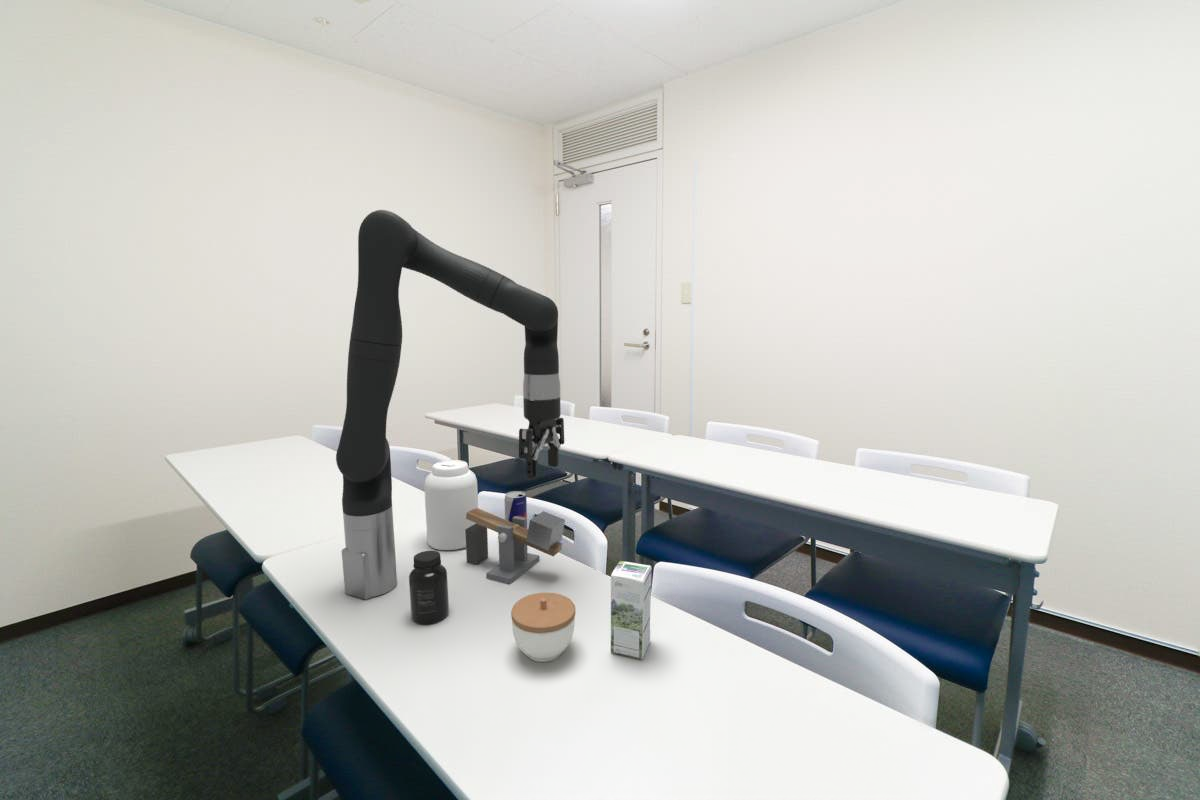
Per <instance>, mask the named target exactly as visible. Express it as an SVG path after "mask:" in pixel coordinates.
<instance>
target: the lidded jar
mask: <svg viewBox="0 0 1200 800" xmlns="http://www.w3.org/2000/svg"><path fill="white" fill-rule="evenodd" d="M510 613H511V614H510V615H511V616H510V617H511V624H512V625H511V626H512V632H513V636H514V640H515V643H516V645H517V647H518V649H520V651H521V652H522V653H524V655H526V656H527V657H528V658H529V659H530V660H531V661H534V662H538V663H545V662H546V663H547V662H551V661H554V660H556V659H557V658H559V657H560V655H562V653H563V652H564V651H565V650H566V649H567V648H568V646H569V645H570V643H571V641H572V639H573V636H574V630H575V626H576V625H575V624H576V623H575V621H576V619H575V618H576V605H575V603H574V602H573V600H572V599H570V598H569V597H568V596H565V595H562V594H561V593H555V592H537V593H533V594H529V595H526V596H524V597H522V598H520V599H519V600H517V601H516V602H515V603H514V604H513V606H512V608H511V611H510Z"/></svg>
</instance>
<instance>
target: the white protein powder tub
mask: <svg viewBox="0 0 1200 800" xmlns="http://www.w3.org/2000/svg"><path fill="white" fill-rule="evenodd" d="M423 486H424V487H423V488H424V500H425V502H424V503H425V505H424V506H425V523H426V540H427V543H428V546H430V547H431V548H432V549H435V550H437V551H438V550H439V551H455V550H461V549H464V548H465V549H466V533H465V529H467V528H469V527H470V526H472V525H474V524H476V523H475V522H472V521H470V520H468V519H466V514H467V512H469V511H471V510H473V509H475V508H479V495H478V494H479V493H478V491H479V490H478V479H477V476H476V474H475V472H473V471H472V470H471V469H470V468H469V464H468V463H467V461H465V460H460V459H448V460H447V459H445V460H441V461H438V462H436V463H434V464H433V465H432V467H431V472H430V473H429V474H428V475H427V476H426V478H425V481H424V484H423Z"/></svg>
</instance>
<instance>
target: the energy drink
mask: <svg viewBox="0 0 1200 800" xmlns="http://www.w3.org/2000/svg"><path fill="white" fill-rule="evenodd" d="M527 503H528V502H527V495H526V492H524V491H521V490H514V491H513V490H512V491H508V492H506V493H505V495H504V519H505V520H507V521H510V522H512V523H513V520H512V518H513V517H515V516H518V517H523V518H527V519H528V512H527V511H528V510H527V509H528V508H527V505H528V504H527Z"/></svg>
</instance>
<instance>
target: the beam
mask: <svg viewBox="0 0 1200 800" xmlns="http://www.w3.org/2000/svg"><path fill="white" fill-rule="evenodd" d="M466 519H468V520H470V521H472V522H475V523H477V524H479V525H481V526H484V527H486V528H487V530H491V531H494V532H496V533H498V526H500V525H506V526H511V527H513V539H514V540H516V541H518V542H521V543H523V544H525V545H527V547H530V548H533V549H534V550H537V551H539V552H542V553H544V554H547V555H548V556H551V557H555V556H556V555H557V554H558V553H560V552H561V551H562V548H563V543H562V542H561V541H560V542H559V543H558V544H557V545H555V546H554V547H553V548H551V549H550V550H549V551H548V550H546V549H543V548H541V547H539V546H536V545H534V544H532V543H529V542H527V534H528V528H527V529H526V528H524V527H522V526H520V525H518V524H514V523H512V522H510V521H507V520H505V518H502V517H500V516H497V515H495V514H493V513H490V512H487V511H485V510H484V509H480V508H479V507H478V508H475V509H473V510H471V511H469V512H467V514H466Z"/></svg>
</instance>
